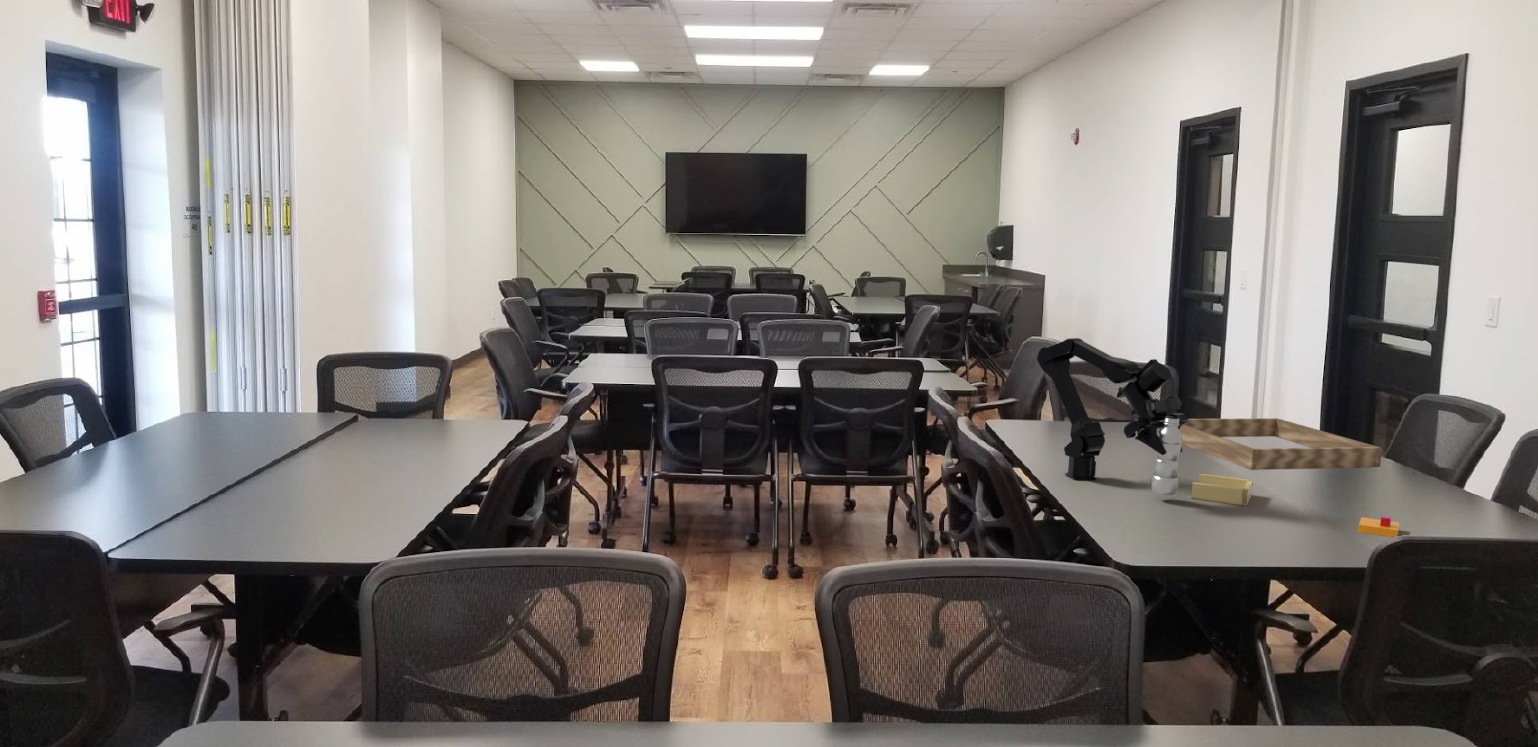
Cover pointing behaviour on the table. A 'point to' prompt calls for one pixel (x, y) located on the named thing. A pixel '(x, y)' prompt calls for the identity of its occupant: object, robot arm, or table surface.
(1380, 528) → the orange block
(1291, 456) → the frame
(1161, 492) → the plastic bottle
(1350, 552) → the table surface
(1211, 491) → the bay
